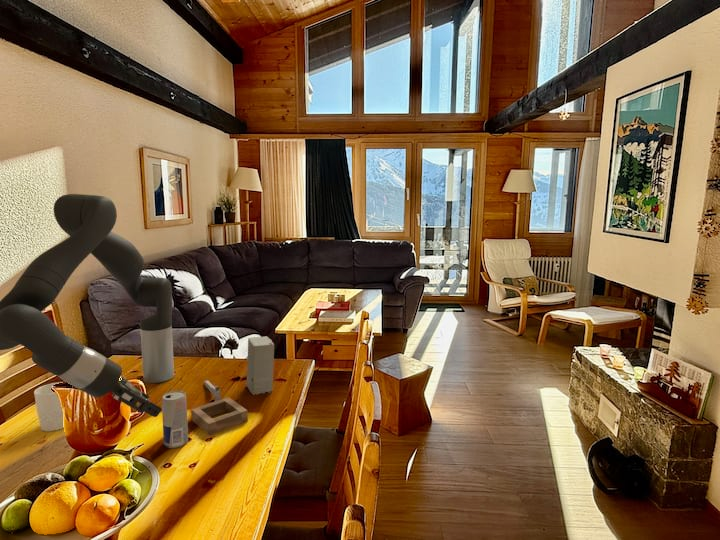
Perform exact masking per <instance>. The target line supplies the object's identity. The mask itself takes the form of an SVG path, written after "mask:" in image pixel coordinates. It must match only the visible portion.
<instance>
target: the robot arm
mask: <svg viewBox="0 0 720 540" xmlns="http://www.w3.org/2000/svg"><path fill="white" fill-rule="evenodd" d="M117 214H118V213H117V208H116V205H115V203H114V202H113V201H112V200H111V198H109V197H106V196H104V195H103V196H102V195H95V194H83V193H82V194H80V193H79V194H78V193H70V194H69V193H68V194H64V195H61V196H59V197H58V198H57V199H56V200H55V202H54V204H53V215H54V218H55V220H56V223H57V224H58V226H59V227H60V229H62V231H64V233H66V234H67V235H68V236H69V237H68V238H65V240H63V241H60V243H58V244H56V245H54V246H52V247H51V248H49V249H47V250H45V251H44V252H42V253H41V254H39V255H38V256H37V257H36V258H35V259H34V260H32V261H31V263H30V264H29V265H28V266H27V267H26V269H25V270H24V271H23V273H22V274H21V275H20V277H19V278H18V280H17V281H16V283H15V284H14V286H13V287H12V288H11V290H10V291H8V293H7V294H6V295H5V296H4V297H3V298H2V299H0V351H4V350H5V351H6V350H11V349H13V348H16V347H17V346H20V345H21V346H23V347H25V348H26V349H27V350H29V351H30V352H31V353H32V354H31V361H33V363H34V364H35V365H36V366H38V367H39V368H41V369H43V370H45V371H47V372H49V373H51V374H52V375H55V376H56V377H58V378H60V380H63V382H67V383H68V384H70V385H72V387H74V388H76V389H78V390H80V391H82V392H84V393H85V394H86V395H89V396H91V397H93V398H95V399H100V398H103V397H104V396H106V395H107V394H110V393H109V392H112V393H113V395H111V397H112V398H113V399H115V400H116V401H119V402H120V403H123V404H124V405H126V406H128V407H131V408H132V409H134V410H135V411H137V412H139V413H140V414H141V413H142V414H143V413H146V414H148V415H149V416H152V417H154V418H157V417H158V416H159V415H160V413H162V406H159V405H157V404H156V403H154V402H152V401H150V399H149V398H150V396H149V395H148V394H147V393H145V392H143V391H141V389H138V388H136V386H135V385H134V384H133V382H131V381H129V380H128V379H126V378H125V377H123V376H122V374H123V367H122V366H121V365H120V364H118V363H116V362H114V361H113V360H112V359H109V358H108V357H106V356H104V355H103V354H102V353H99V352H98V351H96V350H95V349H93V348H90V347H87V346H85V345H83V344H81V343H80V342H79V341H76V339H73V338H72V337H70V336H69V335H66V334H65V333H64V332H63V331H62V330H61V329H60V328H59V326H57V325H56V324H55V322H53V320H52V319H50V318H49V317H48V316H47V314H45V313H43V312H42V311H44V310H45V309H46V308H48V307H49V306H51V304H53V303H54V301H55V300H56V299H57V297H58V296H59V294H60V293H61V292H62V290H63V288H64V287H65V285H66V284H67V282H68V280H69V279H70V277H71V276H72V274H73V273H74V272H75V271H76V269H77V268H78V267H79V265H80V264H82V262H83V261H85V259H87V258H88V256H89V255H90V254H91V255H92V256H93V257H94V258H95V259H96V260H97V261H99V262H100V264H101V265H102V266H103V268H104V269H105V270H106V271H108V273H109V274H111V276H112V277H114V278H115V279H116V280H117V282H119V284H120V285H121V286H122V287H123V289H124V291H126V293H127V294H128V296H129V297H130V299H131V300H132V302H133V303H134V304H135V305H137V306H138V307H143V308H147V307H148V308H151V307H152V308H155V307H156V312H155V313H153V314H151V315H148V316H145V317H143V318H141V320H140V321H139V329H140V343H141V347H140V348H141V361H142V363H141V365H142V379H143V381H144V382H145V383H151V384H159V383H163V382H167V381H169V380H171V379H173V378H174V377H175V366H174V365H175V363H174V360H175V359H174V347H173V345H174V343H173V327H172V326H173V325H172V318H173V309H172V308H173V306H172V305H173V303H172V302H173V290H172V289H173V288H172V287H173V286H172V283H171V281H170V280H169V279H168V278H166V277H165V278H164V277H142V276H141V275H142V272H143V270H144V266H145V260H144V258H143V255H142V254H141V253H140V251H139V250H138V249H137V248H136V246H135V245H134V244H133V243H132V242H130V241H129V240H128V239H126V238H124V237H123V236H121V235H119V234H117V233H114V232H112V230H113V229H114V226H115V225H116V222H117V218H118V215H117ZM120 377H121V378H122V380H121V378H120ZM119 378H120V380H121V381H119ZM138 403H139V405H138Z"/></svg>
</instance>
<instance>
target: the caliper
mask: <svg viewBox="0 0 720 540" xmlns="http://www.w3.org/2000/svg"><path fill="white" fill-rule="evenodd" d="M204 386H205V387H206V388H207V389H208V390H209V391H210V393H212V396H213V398H214V402H215V401H218V400H221V399H222V397H221V391H220V386H219V385H215V386H214V385H213V384H212V383H211V382H210V381H209V380H204Z"/></svg>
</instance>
